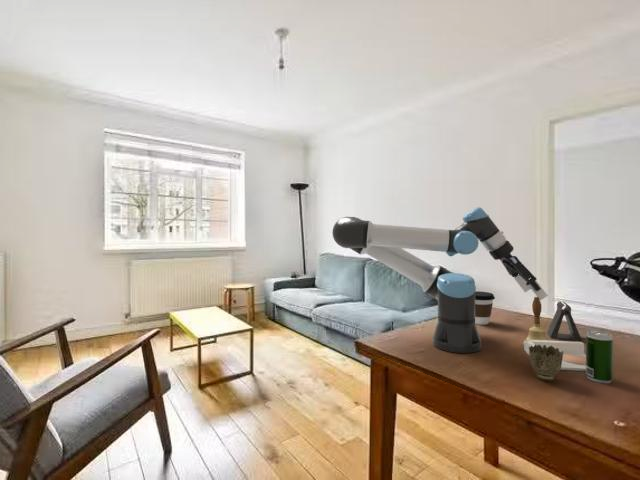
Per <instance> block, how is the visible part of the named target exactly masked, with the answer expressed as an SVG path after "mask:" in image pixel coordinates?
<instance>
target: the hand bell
mask: <svg viewBox="0 0 640 480" xmlns="http://www.w3.org/2000/svg"><path fill="white" fill-rule="evenodd" d="M531 306H532V312H533V316H534V320H533V326H532V327H529V331H528V335H527V338H525V340H545V341H549V340H548V337H547V331H546V330H545V329H544V328H543V327H541V318H540V317H541V313H542V310H543V309H542V302H541V300H540V299H539V297H537V296H534V298H533V301H532V305H531ZM522 344H523V345H524V341H523V342H522Z"/></svg>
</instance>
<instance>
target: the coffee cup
mask: <svg viewBox="0 0 640 480" xmlns="http://www.w3.org/2000/svg"><path fill="white" fill-rule="evenodd" d="M495 299H496V298H495V295H494V294H493V293H492V292H487V291H479V290H477V291H475V324H476V325H479V326H482V325H483V326H486V325H488V324H489V322H490V318H491V315H492V309H493V304H494V303H493V302H494V301H493V300H495Z"/></svg>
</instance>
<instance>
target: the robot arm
mask: <svg viewBox="0 0 640 480" xmlns="http://www.w3.org/2000/svg"><path fill="white" fill-rule="evenodd" d="M462 220H463V223H462V224H460V225H459V226H458V227H456V228H455V229H443V228H442V229H441V228H428V227H417V226H416V227H415V226H404V225H389V224H376V223H373V222H372V221H371V220H363V219H361V218H359V217H356V216H344V217H342V218H339V219H337V221H336V222H335V223H334V224H333V228H332V232H331V233H332V238H333V240H334V242H335V243H336V244H337V245H338V246H339V247H341V248H344V249H350V250H352V251H354V252H356V253H357V254H358V255H360V256H361V255H365V254H366V255H368V256H370V257H372V258H373V259H375V260H376V261H377V262H380V263H382V264H384V265H385V266H387V267H388V268H390V269H392V270H394V271H395V272H397V273H398V274H400V275H402V276H404V277H406V278H407V279H409V280H411V281H412V282H414V283H416V284H418V285H420V286H421V289H422V292H424V293H425V294H427V295H428V296H430V297H431V298H433V299H435V300H437V323H436V326H435V330H434V331H433V334H432V345H433V346H434V347H436V348H437V349H440V350H442V351H445V352H450V353H456V354H457V353H458V354H469V353H476V352H478V351H480V350H481V349H482V339H481V337H480V334H479V331H478V328H477V326H476V325H477V324H475V291H476V289H477V286H476V282H475V279H474V278H473V277H472V276H471V275H468V274H463V273H459V272H458V273H457V272H452V271H450V270H449V269H447V268H445V267H444V266H441V265H431V263H428V262H426V261H424V260H422V259H421V258H419V257H418V256H416V255H414V254H412V253H410V252H409V251H407V250H405V249H408V250H419V251H420V250H421V251H431V252H444V253H446V255H448V256H449V257H453V256H455V255H457V254H458V255H459V254H460V255H464V256H465V255H471V254H473V253H475V252H476V251H477V249H478V248H479V242H480V243H481V245H482V246H483V248H485V250H486V251H488V253H489V255H490V256H491V257H492V258H493V259H494V260H495V261H500V262H501V264H502V265H503V266H504V268H505V269H506V271H507V273H508V274H509V275H510V276H511V277H512V278H513V279H514V280H515V282H516V283H517V284H518V285H519V287H520V288H521V289H522V290H523V292H524V293H527V292H528V291H530V290H531V292H533V294H535V295H536V296H535V297H539V300H540V301H541V300H543V299H546V298H547V297H548V293H547V292H546V291H545V290H544V289H543V288H542V286H541V284H540V283H539V282H538V281H537V280H538V279H537V277H536V276H535V275H534V274H533V273H532V272H531V271H530V269H528V268H527V267H526V266H525V265H524V264H523V263H522V262H521V261H520V259H519V258H518V256H515V255H512V252H514V246H513V245H512V243H510V241H509V240H507V238H506V236H505V235H504V231H502V230H500V228H498V226H497V225H496V224H495V222H494V221H493V220H492V219H491V217H490V216H489V214H487V212H486V211H485V210H484V209H483V208H482V207H479V206H478V207H474V208H473V209H471V210H470V211H468V212H466V214H465V215H463V217H462Z"/></svg>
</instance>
